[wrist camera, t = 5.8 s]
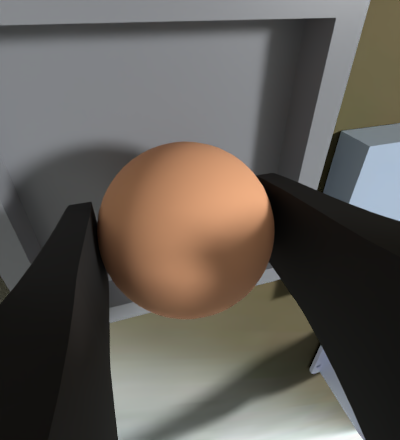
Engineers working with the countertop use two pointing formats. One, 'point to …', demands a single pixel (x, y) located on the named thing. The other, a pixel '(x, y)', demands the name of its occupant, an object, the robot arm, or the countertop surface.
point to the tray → (159, 98)
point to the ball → (185, 230)
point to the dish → (368, 170)
